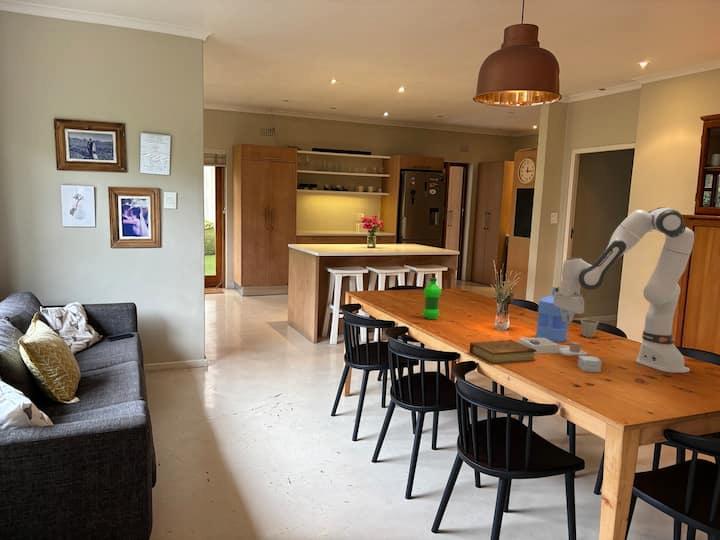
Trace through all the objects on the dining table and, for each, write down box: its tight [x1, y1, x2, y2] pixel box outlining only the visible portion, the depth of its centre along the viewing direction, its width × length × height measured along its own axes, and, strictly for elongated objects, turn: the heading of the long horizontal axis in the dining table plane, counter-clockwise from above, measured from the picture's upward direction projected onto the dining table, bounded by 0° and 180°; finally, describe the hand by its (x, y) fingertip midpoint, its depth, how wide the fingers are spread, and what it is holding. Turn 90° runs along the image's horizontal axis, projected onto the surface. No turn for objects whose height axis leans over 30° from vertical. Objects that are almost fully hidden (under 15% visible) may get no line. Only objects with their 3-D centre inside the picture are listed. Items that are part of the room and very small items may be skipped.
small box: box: [577, 355, 603, 373], centre depth 229 cm, size 8×8×5 cm
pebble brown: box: [569, 341, 581, 352], centre depth 256 cm, size 4×3×4 cm
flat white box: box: [517, 337, 561, 355], centre depth 256 cm, size 14×14×4 cm
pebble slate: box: [562, 312, 573, 323], centre depth 254 cm, size 4×3×4 cm
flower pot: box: [580, 318, 600, 338], centre depth 291 cm, size 9×9×9 cm
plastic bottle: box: [422, 277, 442, 320], centre depth 319 cm, size 10×10×25 cm
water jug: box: [535, 286, 570, 343], centre depth 279 cm, size 16×16×28 cm
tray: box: [558, 345, 590, 357], centre depth 255 cm, size 14×13×1 cm
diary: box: [469, 339, 536, 365], centre depth 242 cm, size 23×19×6 cm
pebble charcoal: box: [530, 340, 540, 345], centre depth 256 cm, size 4×3×4 cm
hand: (567, 319), depth 254 cm, fingers closed on pebble slate, 4 cm apart
